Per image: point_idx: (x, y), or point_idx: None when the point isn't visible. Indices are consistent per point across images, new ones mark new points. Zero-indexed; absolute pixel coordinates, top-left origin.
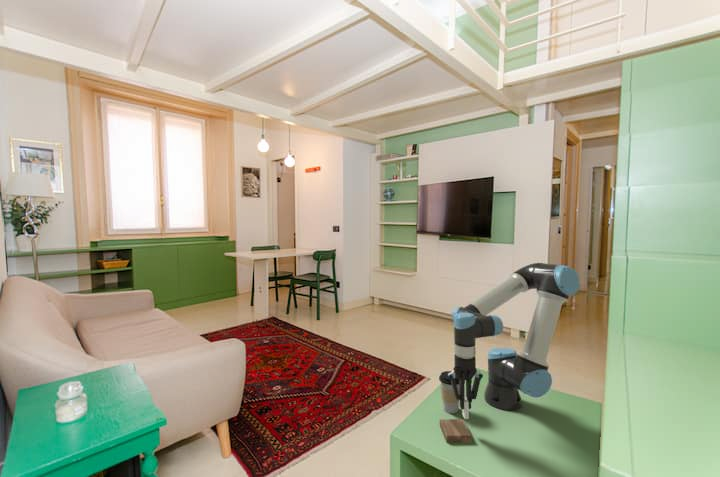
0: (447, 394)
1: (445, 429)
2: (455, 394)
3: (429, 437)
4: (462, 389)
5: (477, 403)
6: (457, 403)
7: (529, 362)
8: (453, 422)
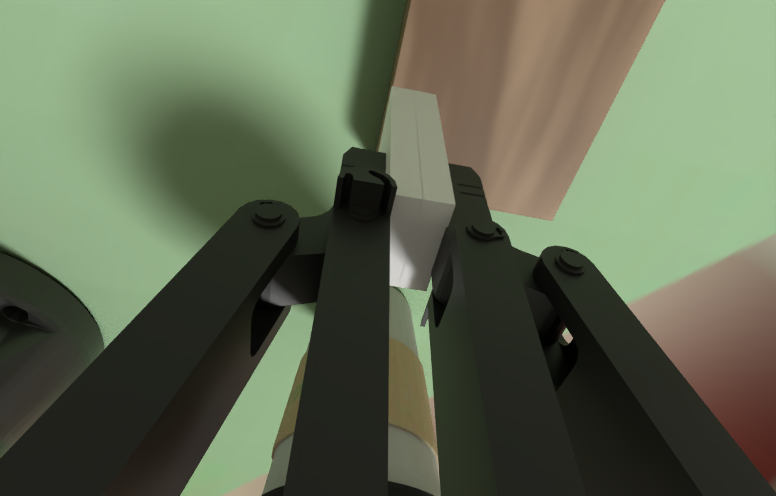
0: (414, 400)
1: (603, 93)
2: (633, 325)
3: (712, 88)
4: (528, 390)
5: None
6: None
7: None
8: (470, 165)
